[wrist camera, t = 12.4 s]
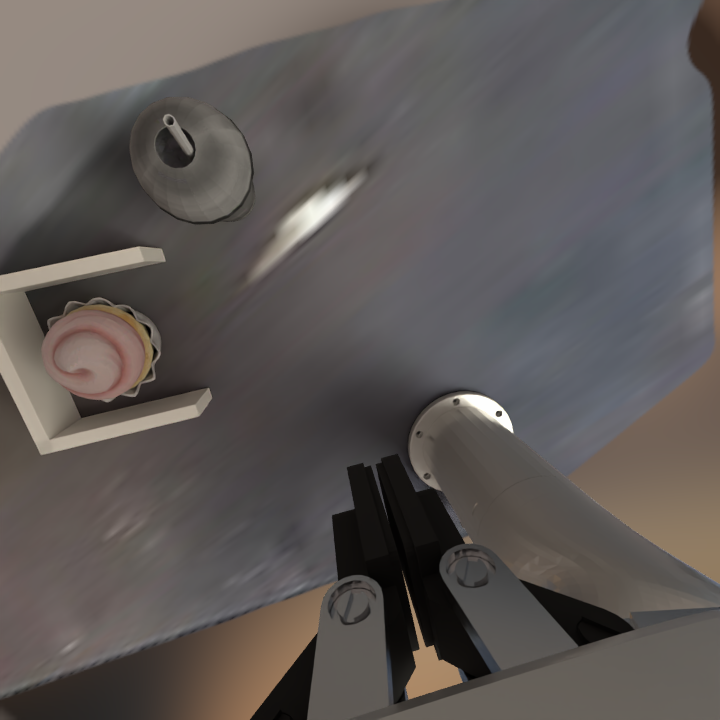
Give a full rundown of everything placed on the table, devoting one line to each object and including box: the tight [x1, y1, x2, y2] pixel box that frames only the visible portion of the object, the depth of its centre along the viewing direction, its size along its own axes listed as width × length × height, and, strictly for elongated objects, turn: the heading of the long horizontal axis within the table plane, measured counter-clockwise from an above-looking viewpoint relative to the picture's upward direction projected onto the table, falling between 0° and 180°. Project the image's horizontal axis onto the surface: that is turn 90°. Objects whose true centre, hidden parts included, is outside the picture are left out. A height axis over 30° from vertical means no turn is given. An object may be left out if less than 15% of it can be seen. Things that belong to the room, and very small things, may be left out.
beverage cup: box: [129, 97, 255, 224], centre depth 26 cm, size 7×7×20 cm
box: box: [0, 246, 212, 455], centre depth 35 cm, size 15×14×5 cm
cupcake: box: [41, 297, 161, 402], centre depth 33 cm, size 9×9×10 cm
